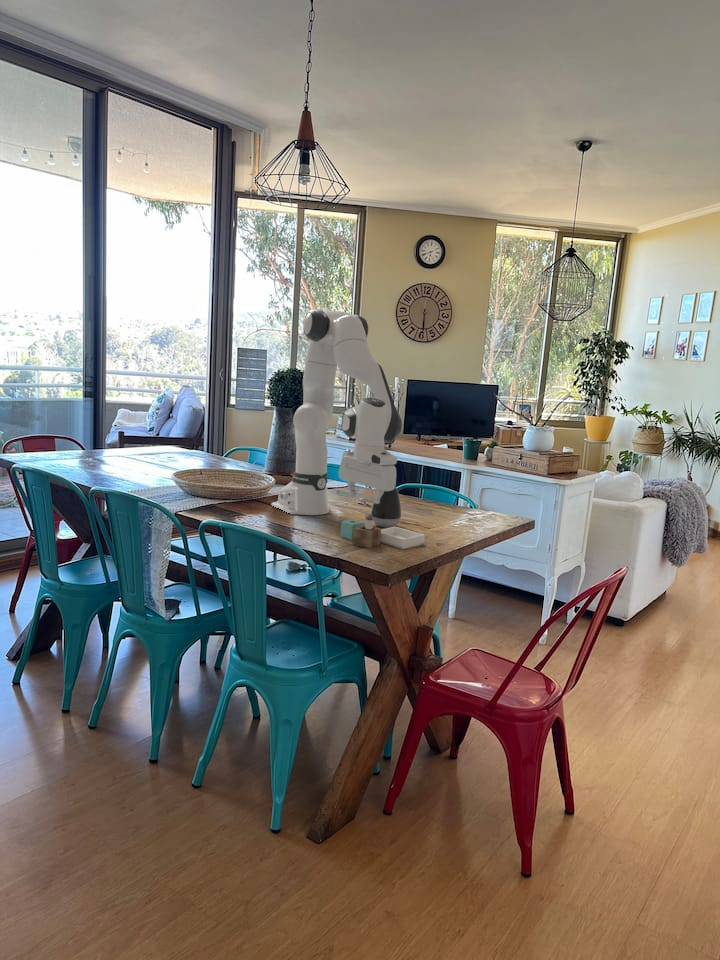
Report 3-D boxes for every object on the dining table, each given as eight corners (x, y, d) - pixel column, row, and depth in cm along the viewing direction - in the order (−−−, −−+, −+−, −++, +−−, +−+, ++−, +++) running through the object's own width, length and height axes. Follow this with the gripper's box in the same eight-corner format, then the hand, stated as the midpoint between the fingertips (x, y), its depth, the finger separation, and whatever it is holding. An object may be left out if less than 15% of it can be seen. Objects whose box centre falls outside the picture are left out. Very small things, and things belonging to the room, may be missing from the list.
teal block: (340, 536, 219) (341, 520, 218) (351, 534, 222) (352, 518, 221) (351, 540, 215) (352, 524, 214) (363, 538, 219) (363, 522, 218)
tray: (372, 540, 216) (373, 530, 216) (394, 535, 224) (395, 526, 223) (402, 549, 208) (403, 539, 207) (424, 544, 215) (424, 534, 215)
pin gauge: (362, 544, 211) (363, 515, 210) (367, 542, 213) (369, 514, 211) (367, 545, 209) (369, 516, 208) (373, 544, 211) (375, 515, 210)
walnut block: (352, 544, 210) (353, 528, 209) (363, 540, 215) (364, 524, 214) (369, 548, 207) (370, 531, 206) (380, 544, 212) (381, 528, 211)
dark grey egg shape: (375, 530, 229) (378, 484, 226) (366, 522, 239) (369, 478, 236) (404, 529, 232) (408, 484, 229) (394, 522, 242) (397, 479, 239)
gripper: (336, 448, 210) (332, 493, 212) (387, 460, 196) (382, 508, 199) (351, 447, 214) (346, 491, 217) (401, 459, 201) (396, 506, 203)
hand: (364, 499), depth 208 cm, fingers open, 8 cm apart
